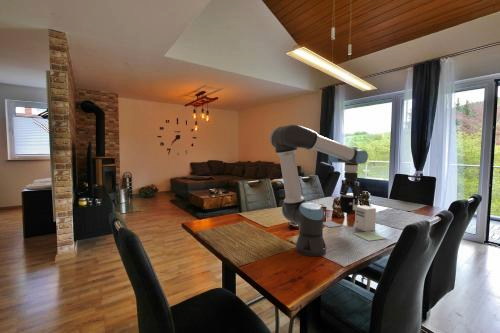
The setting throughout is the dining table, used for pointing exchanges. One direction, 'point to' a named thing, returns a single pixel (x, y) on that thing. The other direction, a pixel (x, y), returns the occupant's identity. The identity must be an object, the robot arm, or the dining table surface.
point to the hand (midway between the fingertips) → (349, 208)
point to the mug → (346, 203)
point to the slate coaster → (331, 224)
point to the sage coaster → (369, 236)
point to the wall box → (365, 218)
